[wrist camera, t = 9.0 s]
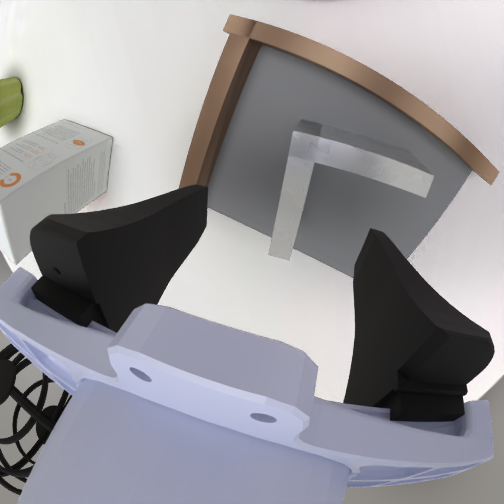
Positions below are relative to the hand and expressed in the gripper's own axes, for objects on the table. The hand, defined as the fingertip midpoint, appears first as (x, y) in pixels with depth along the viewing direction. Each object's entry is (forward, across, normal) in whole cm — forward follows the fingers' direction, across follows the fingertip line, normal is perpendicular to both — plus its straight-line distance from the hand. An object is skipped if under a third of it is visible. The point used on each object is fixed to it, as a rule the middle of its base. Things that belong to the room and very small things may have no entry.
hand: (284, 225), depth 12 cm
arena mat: (+9, -3, 0) cm, 10 cm away
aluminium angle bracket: (+9, -3, +1) cm, 9 cm away
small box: (+10, +22, +2) cm, 24 cm away
